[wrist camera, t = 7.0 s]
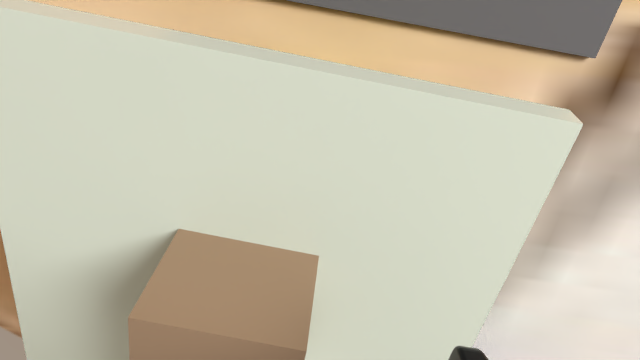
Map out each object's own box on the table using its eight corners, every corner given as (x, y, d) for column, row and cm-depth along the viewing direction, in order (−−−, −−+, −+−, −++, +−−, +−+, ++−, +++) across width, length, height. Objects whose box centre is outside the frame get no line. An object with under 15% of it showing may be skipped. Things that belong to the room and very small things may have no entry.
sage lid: (409, 444, 17) (419, 573, 14) (47, 377, 17) (-29, 491, 14) (569, 109, 11) (660, 203, 7) (-19, -9, 10) (-198, 33, 7)
